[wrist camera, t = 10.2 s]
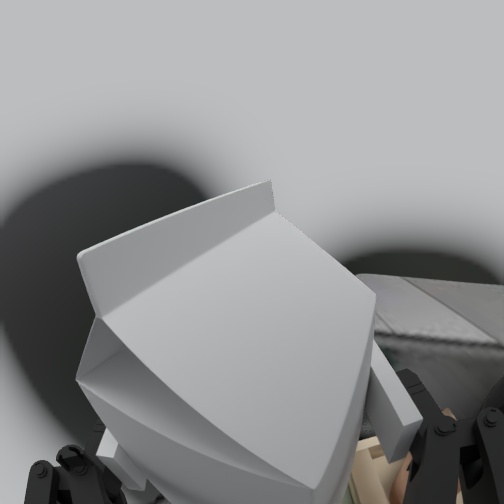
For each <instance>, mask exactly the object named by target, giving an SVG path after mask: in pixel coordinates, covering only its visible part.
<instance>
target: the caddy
mask: <svg viewBox="0 0 504 504" xmlns="http://www.w3.org/2000/svg"><path fill="white" fill-rule="evenodd" d="M441 412H442V413H443V414H444V415H446V416H451V417H452V418H454V419H456V418H455V417H454V415H453V414H452V412H451V411H450V409H449V408H447V409H444V410H442V411H441ZM411 460H412V456H411V453H410V451H409V452H408V454H407V456H406V458H404V459H401V460H398V461H396V462H393V463H390V464H388V462H387V459H386V457H385V454H384V452H383V450H382V447H381V445H380V443H379V440H378V438H377V436H375V437H371V438H368V439H365V440H361V441H358V444H357V449H356V453H355V458H354V462H353V466H352V470H351V474H350V477H349V481H348V485H347V488H346V491H345V494H344V496H343V499H342V501H341V504H402V503H403V499H404V494H405V490H406V485H407V480H408V474H409V471H406V470H407V467H408V465H409V463H410V461H411ZM456 504H463V499H462V493H461V487H460V481H459V478H458V490H457V499H456Z"/></svg>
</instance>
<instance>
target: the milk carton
mask: <svg viewBox="0 0 504 504" xmlns="http://www.w3.org/2000/svg"><path fill="white" fill-rule="evenodd" d="M77 260H78V264H79V267H80V270H81V274H82V277H83V280H84V283H85V286H86V288H87V291H88V294H89V297H90V300H91V302H92V305H93V308H94V310H95V313H96V317H95V320H94V323H93V325H92V328H91V331H90V334H89V337H88V340H87V343H86V346H85V349H84V352H83V356H82V359H81V362H80V365H79V369H78V372H77V376H76V381H77V382H78V383H79V385H80V387H81V389H82V390H83V392H84V394H85V395H86V397H87V398H88V400H89V402H90V403H91V405H92V406H93V408H94V410H95V411H96V413H97V414H98V415H99V417H100V419H101V420H102V421H103V423H104V424H105V426H106V427H107V429H108V430H109V431H110V433H111V434H112V435H113V437H114V438H115V440H116V441H117V442H118V443H119V445H120V446H121V447H122V449H123V450H124V451H125V452H126V454H127V455H128V456H129V457H130V459H131V460H132V461H133V462H134V464H135V465H136V466H137V467H138V468H139V469H140V471H141V472H142V473H143V474H144V475H145V476H146V477H147V478H148V480H149V481H150V482H151V483H152V484H153V485H154V486H155V487H156V488H157V489H158V490H159V491H160V492H161V493H162V495H163V496H164V497H165V498H166V499H167V500H168V501H169V502H170V503H171V504H341V501H342V499H343V496H344V494H345V491H346V488H347V485H348V481H349V477H350V474H351V470H352V466H353V462H354V458H355V453H356V449H357V444H358V440H359V435H360V430H361V425H362V419H363V414H364V408H365V402H366V396H367V389H368V382H369V375H370V367H371V358H372V349H373V338H374V326H375V312H376V294H375V293H374V292H373V291H372V290H370V289H369V288H368V287H367V286H366V285H365V284H364V283H362V282H361V281H360V280H359V279H358V278H357V277H355V276H354V275H353V274H352V273H351V272H349V271H348V270H347V269H346V268H345V267H344V266H342V265H341V264H340V263H339V262H338V261H336V260H335V259H334V258H333V257H331V256H330V255H329V254H328V253H327V252H325V251H324V250H323V249H322V248H321V247H319V246H318V245H317V244H316V243H315V242H313V241H312V240H311V239H310V238H308V237H307V236H306V235H305V234H303V233H302V232H301V231H300V230H298V229H297V228H296V227H295V226H293V225H292V224H291V223H290V222H288V221H287V220H286V219H285V218H283V217H282V216H281V215H280V214H278V213H277V212H276V211H275V207H274V199H273V192H272V185H271V180H268V181H262V182H259V183H256V184H253V185H250V186H247V187H244V188H241V189H238V190H235V191H233V192H229V193H227V194H224V195H221V196H218V197H215V198H213V199H210V200H207V201H204V202H201V203H199V204H196V205H193V206H191V207H188V208H186V209H183V210H180V211H177V212H175V213H172V214H170V215H167V216H164V217H162V218H159V219H157V220H154V221H152V222H149V223H147V224H144V225H142V226H139V227H137V228H134V229H132V230H130V231H127V232H125V233H122V234H120V235H118V236H115V237H113V238H111V239H108V240H106V241H104V242H101V243H99V244H97V245H95V246H92V247H90V248H88V249H86V250H83V251H81V252H80V253H79V254H78V255H77Z"/></svg>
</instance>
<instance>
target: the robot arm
mask: <svg viewBox="0 0 504 504" xmlns="http://www.w3.org/2000/svg"><path fill="white" fill-rule="evenodd" d="M365 410H366V413H367V415H368V417H369V419H370V422H371V424H372V426H373V429H374V431H375V433H376V436H377V438H378V440H379V443H380V445H381V447H382V450H383V452H384V454H385V457H386V459H387V462H388V464H390V463H393V462H396V461H398V460H401V459H404V458H406V456H407V454H408V452H409V451H410V453H411V456H412V460H411V461H410V463H409V465H408V467H407V470H406V471H409V474H408V480H407V485H406V490H405V494H404V499H403V503H402V504H456V499H457V490H458V478H459V481H460V487H461V493H462V499H463V504H504V376H503V377H502V378H501V379H500V380H499V381H498V383H497V384H496V385H495V386H494V387H493V389H492V390H491V392H490V393H489V395H488V397H487V399H486V401H485V403H484V405H483V407H482V409H481V411H480V413H479V414H478V416H477V417H476V418H471V419H465V420H456V419H454V418H452V417H451V416H446V415H444V414H443V413H442V412H441V410H440V408H439V407H438V405H437V404H436V402H435V401H434V400H433V398H432V397H431V395H430V394H429V392H428V391H427V390H426V388H425V386H424V385H423V384H422V382H421V381H420V379H419V378H418V376H417V375H416V374H415V373H413V372H412V371H410V370H409V369H404V370H401V371H398V372H394V370H393V369H392V367H391V365H390V364H389V362H388V361H387V359H386V358H385V356H384V355H383V353H382V352H381V350H380V348H379V347H378V345H377V344H376V342H375V341H374V339H373V349H372V358H371V367H370V375H369V382H368V389H367V396H366V402H365ZM56 461H57V462H58V463H59V464H60V465H61V466H59V467H53V466H52V465H51V464H50V463H49V462H48V461H45V460H40V461H37V462H35V463H34V464H33V465H32V467H31V469H30V472H29V478H28V483H27V489H26V494H25V501H24V504H127V501H126V498H125V495H124V493H123V492H122V490H121V484H122V483H123V484H124V485H125V486H126V487H127V488H128V489H134V490H141V491H144V490H145V485H146V480H147V477H146V476H145V475H144V474H143V473H142V472H141V471H140V469H139V468H138V467H137V466H136V465H135V464H134V462H133V461H132V460H131V459H130V457H129V456H128V455H127V454H126V452H125V451H124V450H123V449H122V447H121V446H120V445H119V443H118V442H117V441H116V440H115V438H114V437H113V435H112V434H111V433H110V431H109V430H108V429H107V427H106V426H105V424H104V423H103V421H102V420H101V419H100V417H98V419H97V422H96V425H95V426H94V428H93V432H92V433H91V435H90V438H89V440H88V443H87V445H86V447H85V450H84V451H83V450H82V449H81V448H80V447H79V446H77V445H67V446H65V447H63V448H62V449H61V450H59V452H58V454H57V456H56Z"/></svg>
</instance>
